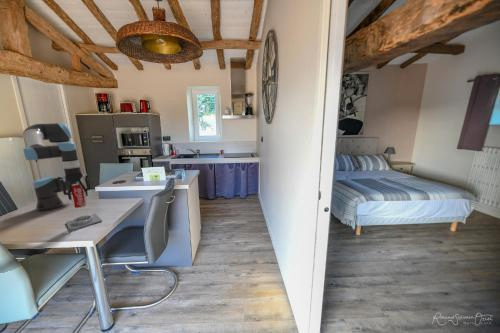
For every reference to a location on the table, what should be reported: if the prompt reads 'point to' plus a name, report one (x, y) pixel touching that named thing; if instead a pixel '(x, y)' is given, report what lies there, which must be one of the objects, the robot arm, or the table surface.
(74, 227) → the seat plate
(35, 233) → the table surface
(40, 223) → the table surface
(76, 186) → the beverage can
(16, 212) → the table surface
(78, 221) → the collar
